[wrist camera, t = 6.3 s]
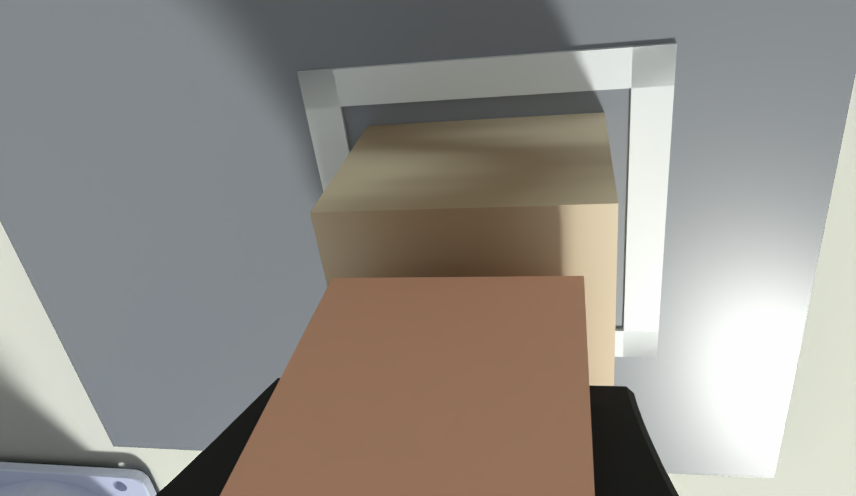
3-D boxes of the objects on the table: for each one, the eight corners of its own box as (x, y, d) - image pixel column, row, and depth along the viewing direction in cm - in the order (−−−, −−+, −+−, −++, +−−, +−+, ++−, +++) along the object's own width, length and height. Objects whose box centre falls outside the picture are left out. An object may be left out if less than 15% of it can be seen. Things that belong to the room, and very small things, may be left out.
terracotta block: (372, 451, 13) (280, 745, 9) (332, 278, 11) (190, 554, 7) (584, 460, 12) (597, 791, 8) (583, 275, 10) (599, 586, 6)
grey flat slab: (129, 423, 23) (111, 448, 22) (-119, -100, 15) (-164, -97, 14) (764, 449, 19) (774, 481, 18) (894, -254, 11) (926, -263, 10)
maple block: (400, 311, 17) (360, 427, 14) (367, 125, 15) (310, 212, 11) (601, 311, 16) (612, 437, 13) (604, 112, 14) (618, 203, 10)
